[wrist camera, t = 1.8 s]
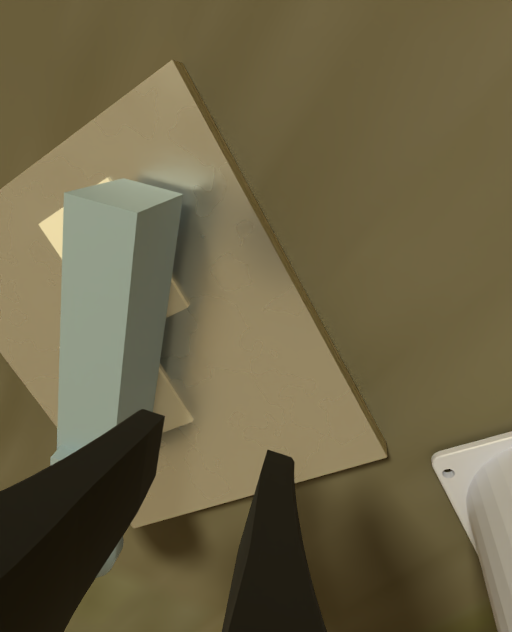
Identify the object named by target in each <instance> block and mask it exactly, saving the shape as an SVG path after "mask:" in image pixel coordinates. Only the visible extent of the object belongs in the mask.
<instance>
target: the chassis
mask: <svg viewBox="0 0 512 632" xmlns="http://www.w3.org/2000/svg"><path fill="white" fill-rule="evenodd" d="M107 177H110V178H111V180H112V181H114V180H118V179H123V178H125V179H129V180H132V181H136V182H140V183H144V184H147V185H151V186H155V187H159V188H162V189H166V190H170V191H174V192H177V193H181V194H183V200H182V207H181V215H180V222H179V229H178V236H177V243H176V250H175V257H174V265H173V272H172V279H173V280H174V282H175V284H176V285H177V287H178V288H179V290H180V292H181V293H182V295H183V297H184V298H185V300H186V302H187V303H188V305H189V307H188V308H186V309H184V310H182V311H180V312H177V313H175V314H173V315H171V316H169V317H167V318H166V322H165V329H164V336H163V343H162V350H161V357H160V364H159V367H160V369H161V370H162V372H163V373H164V375H165V376H166V378H167V379H168V381H169V382H170V384H171V385H172V387H173V388H174V390H175V391H176V393H177V395H178V396H179V398H180V399H181V401H182V402H183V404H184V405H185V407H186V408H187V410H188V411H189V413H190V414H191V416H192V417H193V419H194V420H193V421H192V422H190V423H187V424H185V425H182V426H179V427H177V428H174V429H171V430H169V431H166V432H163V433H162V438H161V445H160V451H159V458H158V464H157V471H156V476H155V478H154V480H153V482H152V485H151V487H150V489H149V491H148V493H147V495H146V497H145V499H144V501H143V503H142V505H141V507H140V509H139V511H138V513H137V514H136V516H135V517H134V519H133V521H132V522H131V526H132V527H133V528H137V527H141V526H144V525H148V524H151V523H155V522H158V521H162V520H166V519H169V518H173V517H176V516H180V515H183V514H187V513H191V512H194V511H198V510H201V509H205V508H208V507H212V506H216V505H219V504H223V503H226V502H230V501H233V500H237V499H241V498H244V497H248V496H251V495H254V493H255V490H256V487H257V483H258V480H259V476H260V473H261V469H262V466H263V463H264V459H265V456H266V453H267V450H271V451H274V452H277V453H280V454H283V455H286V456H289V457H292V459H293V460H294V462H295V465H294V482H295V483H298V482H301V481H305V480H308V479H312V478H316V477H319V476H323V475H326V474H330V473H333V472H337V471H340V470H344V469H348V468H351V467H355V466H358V465H362V464H365V463H369V462H373V461H376V460H380V459H383V458H387V443H386V441H385V439H384V437H383V436H382V434H381V432H380V430H379V428H378V426H377V424H376V423H375V421H374V419H373V417H372V415H371V413H370V411H369V409H368V408H367V406H366V404H365V402H364V400H363V398H362V396H361V395H360V393H359V391H358V389H357V387H356V385H355V383H354V381H353V380H352V378H351V376H350V374H349V372H348V370H347V368H346V367H345V365H344V363H343V361H342V359H341V357H340V355H339V354H338V352H337V350H336V348H335V346H334V344H333V342H332V340H331V339H330V337H329V335H328V333H327V331H326V329H325V327H324V326H323V324H322V322H321V320H320V318H319V316H318V314H317V313H316V311H315V309H314V307H313V305H312V303H311V301H310V299H309V298H308V296H307V294H306V292H305V290H304V288H303V286H302V285H301V283H300V281H299V279H298V277H297V275H296V273H295V272H294V270H293V268H292V266H291V264H290V262H289V260H288V258H287V257H286V255H285V253H284V251H283V249H282V247H281V245H280V244H279V242H278V240H277V238H276V236H275V234H274V232H273V231H272V229H271V227H270V225H269V223H268V221H267V219H266V217H265V216H264V214H263V212H262V210H261V208H260V206H259V204H258V203H257V201H256V199H255V197H254V195H253V193H252V191H251V190H250V188H249V186H248V184H247V182H246V180H245V178H244V176H243V175H242V173H241V171H240V169H239V167H238V165H237V163H236V162H235V160H234V158H233V156H232V154H231V152H230V150H229V149H228V147H227V145H226V143H225V141H224V139H223V137H222V135H221V134H220V132H219V130H218V128H217V126H216V124H215V122H214V121H213V119H212V117H211V115H210V113H209V111H208V109H207V108H206V106H205V104H204V102H203V100H202V98H201V96H200V94H199V93H198V91H197V89H196V87H195V85H194V83H193V81H192V80H191V78H190V76H189V74H188V72H187V70H186V68H185V67H184V65H183V63H181V62H178V61H174V60H171V61H170V62H169V63H167V64H166V65H165V66H163V67H162V68H161V69H159V70H158V71H157V72H155V73H154V74H153V75H151V76H150V77H149V78H147V79H146V80H145V81H143V82H142V83H141V84H139V85H138V86H137V87H135V88H134V89H133V90H132V91H130V92H129V93H128V94H126V95H125V96H124V97H122V98H121V99H120V100H118V101H117V102H116V103H114V104H113V105H112V106H110V107H109V108H108V109H106V110H105V111H104V112H102V113H101V114H100V115H98V116H97V117H96V118H94V119H93V120H92V121H90V122H89V123H88V124H86V125H85V126H84V127H82V128H81V129H80V130H78V131H77V132H76V133H74V134H73V135H72V136H71V137H69V138H68V139H67V140H65V141H64V142H63V143H61V144H60V145H59V146H57V147H56V148H55V149H53V150H52V151H51V152H49V153H48V154H47V155H45V156H44V157H43V158H41V159H40V160H39V161H37V162H36V163H35V164H33V165H32V166H31V167H29V168H28V169H27V170H25V171H24V172H23V173H21V174H20V175H19V176H17V177H16V178H15V179H13V180H12V181H11V182H10V183H8V184H7V185H6V186H4V187H3V188H2V189H0V353H1V354H2V355H3V357H4V358H5V359H6V361H7V362H8V363H9V364H10V366H11V367H12V368H13V370H14V371H15V372H16V374H17V375H18V376H19V378H20V379H21V380H22V382H23V383H24V384H25V386H26V387H27V388H28V390H29V391H30V392H31V394H32V395H33V396H34V398H35V399H36V400H37V402H38V403H39V404H40V405H41V407H42V408H43V409H44V411H45V412H46V413H47V415H48V416H49V417H50V419H51V420H52V421H53V423H54V424H55V425H56V427H57V428H58V391H59V355H60V348H59V347H60V319H61V282H62V259H61V257H60V256H59V254H58V253H57V251H56V250H55V248H54V247H53V245H52V244H51V242H50V241H49V239H48V238H47V236H46V235H45V233H44V232H43V231H42V229H41V228H40V226H39V225H38V224H39V223H41V222H42V221H44V220H45V219H47V218H48V217H50V216H51V215H53V214H54V213H55V212H57V211H58V210H60V209H61V208H63V207H64V193H65V192H69V191H73V190H77V189H81V188H85V187H89V186H94V185H97V184H98V183H100V182H101V181H103V180H104V179H106V178H107Z"/></svg>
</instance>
